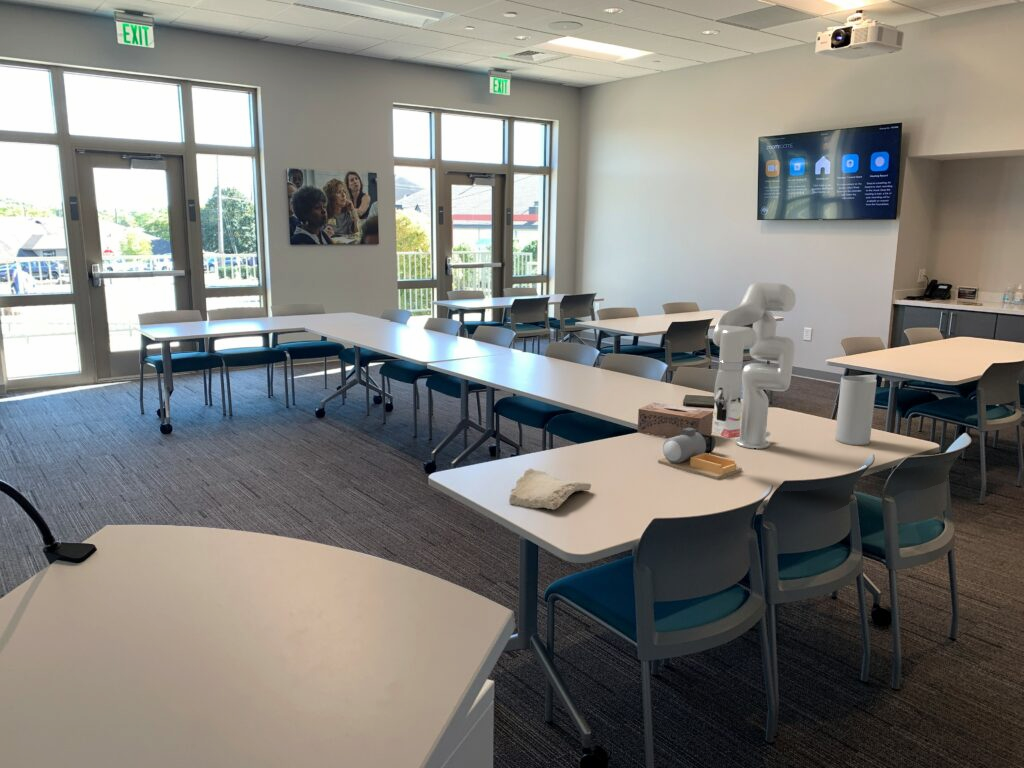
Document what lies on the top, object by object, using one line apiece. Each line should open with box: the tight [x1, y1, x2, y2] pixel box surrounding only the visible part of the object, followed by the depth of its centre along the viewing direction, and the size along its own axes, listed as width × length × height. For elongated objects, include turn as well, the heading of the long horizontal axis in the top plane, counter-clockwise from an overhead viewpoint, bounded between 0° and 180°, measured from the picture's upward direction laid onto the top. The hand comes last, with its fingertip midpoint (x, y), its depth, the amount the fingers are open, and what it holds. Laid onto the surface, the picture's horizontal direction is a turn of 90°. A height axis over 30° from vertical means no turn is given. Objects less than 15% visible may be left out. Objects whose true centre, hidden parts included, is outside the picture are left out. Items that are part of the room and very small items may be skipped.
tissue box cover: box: [637, 402, 714, 438], centre depth 304 cm, size 26×14×10 cm, turn 55°
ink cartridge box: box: [712, 395, 742, 439], centre depth 254 cm, size 9×5×15 cm, turn 24°
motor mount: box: [657, 427, 743, 480], centre depth 261 cm, size 15×24×12 cm, turn 42°
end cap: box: [701, 434, 717, 454], centre depth 280 cm, size 10×7×7 cm
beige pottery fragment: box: [508, 468, 592, 510], centre depth 231 cm, size 24×8×20 cm
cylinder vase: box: [834, 375, 877, 446], centre depth 294 cm, size 12×12×25 cm
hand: (726, 418), depth 254 cm, fingers closed on ink cartridge box, 6 cm apart
